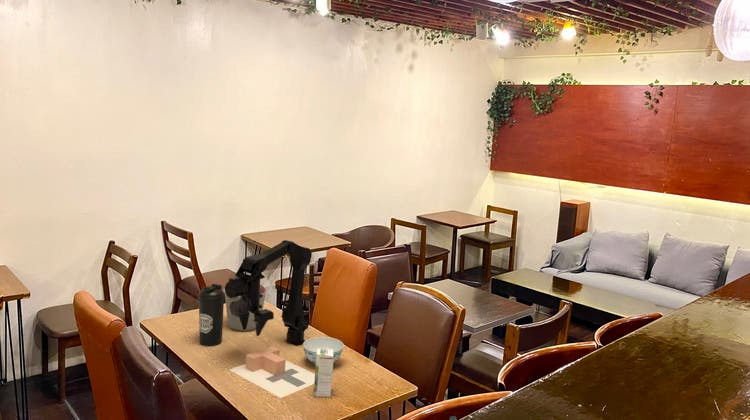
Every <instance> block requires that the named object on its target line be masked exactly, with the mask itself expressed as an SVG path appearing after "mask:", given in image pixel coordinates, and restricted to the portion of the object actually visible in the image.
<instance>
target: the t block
mask: <svg viewBox="0 0 750 420" xmlns="http://www.w3.org/2000/svg"><path fill="white" fill-rule="evenodd" d="M286 361H287V360H286V358H283V357H281V356H280V349H279V348H277V347H276V346H274V345H273V346H272V345H271V346H269V347H265V348H263V349H260V350H258V351H253V352H251V353H248V354H246V355H245V364H246V369H248V370H250V371H252V372H254V371H257V370H260V369H263V370H265V371H267V372H269V373H271V374H273V375H275V376H278V375H280V374H283V373H285V362H286Z"/></svg>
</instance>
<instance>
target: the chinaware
mask: <svg viewBox="0 0 750 420" xmlns="http://www.w3.org/2000/svg"><path fill="white" fill-rule="evenodd" d="M344 346H345V345H344V342H342V340H340V339H337V338H334V337H329V336H317V337H316V336H315V337H311V338H308V339H306V340H305V342H304V343H303V344H302V347H303V351H304V355H305V356H306V359H308V361H310V362H311V363H312V364H314V365H315V366H316V355H317V349H332V350H334V357H333V364H334V363H335V362H336V361H337V360H338V359H339V358H340V356H342V352H343V350H344Z"/></svg>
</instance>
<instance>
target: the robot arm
mask: <svg viewBox="0 0 750 420" xmlns="http://www.w3.org/2000/svg"><path fill="white" fill-rule="evenodd" d="M285 255H289V263H290V265H291V267H292V270H291V272H292V273H291V280H290V289H289V298H288V303H287V304H286V306H285V307H282V309H281V310H282V313H281V316H280V317H281V319H282V322H283V324H284V327H285V328H286V327H287V332H286V339H284V342H286V343H287V344H290V345H293V346H296V347H297V346H299V345H303V343H304V342H305V341H306V340H305V332H306V330H308V329H309V328H308V327H309V323H308V320H306V319H305V311H304V308H303V305H302V300H303V291H304V281H305V274H306V269H307V268H308V266H309V265H310V263H311V259H312V256H313V255H312V250H311V249H310V248H309V247H305V246H301V245H299V244H297V243H295V242H294V241H291V240H288V239H284V240H282V241H281V242H279V243H278V244H276V245H274V246H273V247H271V248H269V249H267V250H266V251H263V252H262V253H259V254H252V255H249V256H246V257H244V258H243V259H242V262H241V264H240V265H239V268H238V269H237V271H236V273H235V275H234V276H235V277H231V278H228V282H226V284H225V286H224V288H225V293H226V295H227V296H228V297H229V298H234V297H238V296H241V299H240V300H236V301H233V302H232V303H231V304H230V306H229V308H230V311H231V314H232V315H235V316H236V317H239V319H240V322H241V325H242V328H243V330H245V329H246V327H247V324H248V319H249V314H250V313H253V314H254V318H255V319H254V320H253V321H254V322H255V323H256V328H255V333H256V334H255V335H256V336H257V337H258V336H260V335H261V333H262V331H263V329H264V328H265V326H266V324H267V322H268V321H272V320H273V319H275V318H274V316H275V314H274V312H273V311H272V310H270V309H268V308H263V310H259V309H260V308H262V305H260V298H261V297H262V294H260V285H261V280H263V279H265V278H266V276H265V275H264V274H263V273H264V271H265V272H266V270H267V268H268V266H269V265H270V264H272V263H274V262H276V261H277V260H279V259H281V258H282V257H284V256H285Z"/></svg>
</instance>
